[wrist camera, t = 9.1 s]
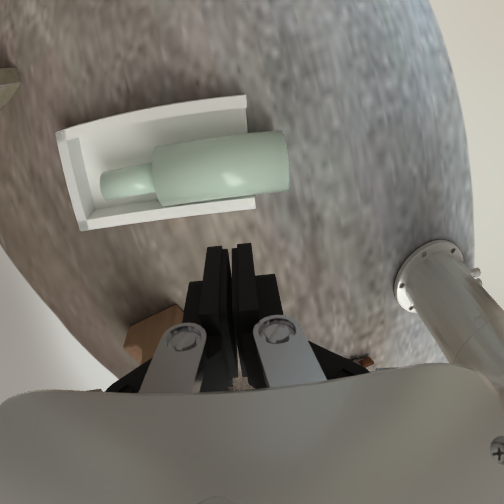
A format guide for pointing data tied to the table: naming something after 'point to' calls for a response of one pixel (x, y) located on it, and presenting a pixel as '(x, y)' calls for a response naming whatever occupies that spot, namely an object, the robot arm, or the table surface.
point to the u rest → (143, 157)
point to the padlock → (8, 84)
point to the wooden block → (150, 333)
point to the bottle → (206, 170)
